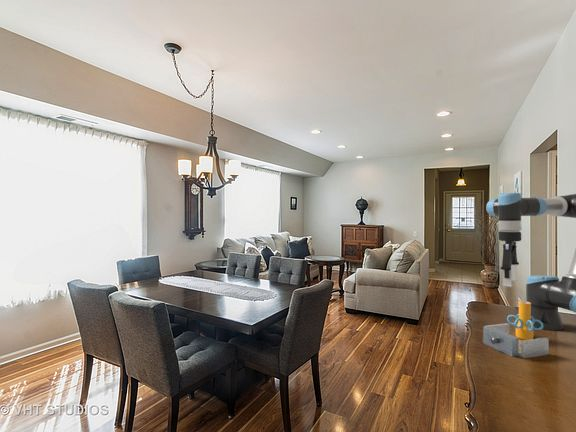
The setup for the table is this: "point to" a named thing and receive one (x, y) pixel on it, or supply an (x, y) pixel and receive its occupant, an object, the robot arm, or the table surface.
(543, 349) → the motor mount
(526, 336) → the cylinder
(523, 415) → the table surface
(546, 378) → the table surface
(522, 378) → the table surface
